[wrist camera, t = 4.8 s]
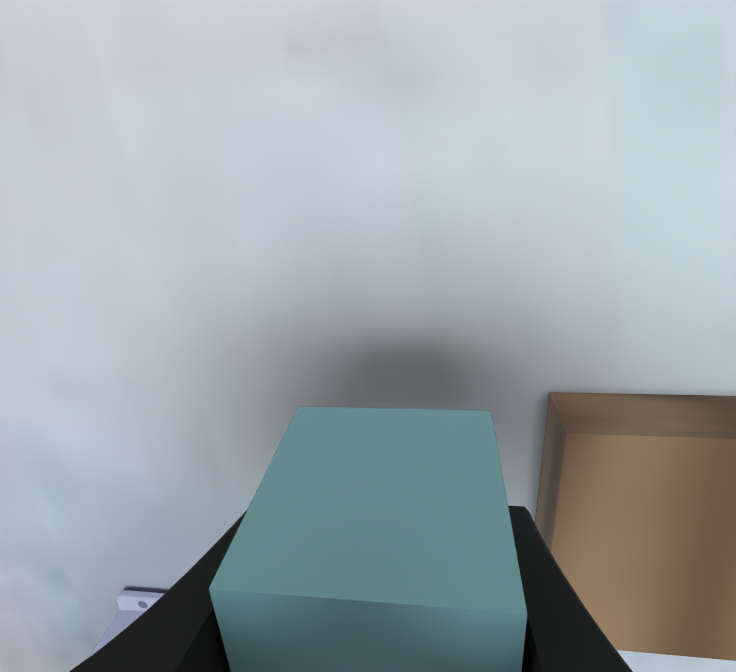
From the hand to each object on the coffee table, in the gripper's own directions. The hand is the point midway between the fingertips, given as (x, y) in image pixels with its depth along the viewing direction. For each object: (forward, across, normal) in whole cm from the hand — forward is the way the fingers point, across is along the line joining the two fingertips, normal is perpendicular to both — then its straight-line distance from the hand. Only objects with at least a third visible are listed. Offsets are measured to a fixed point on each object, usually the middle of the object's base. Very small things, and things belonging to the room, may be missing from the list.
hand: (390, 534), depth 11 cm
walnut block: (+8, -10, +6) cm, 14 cm away
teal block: (+2, 0, 0) cm, 2 cm away
